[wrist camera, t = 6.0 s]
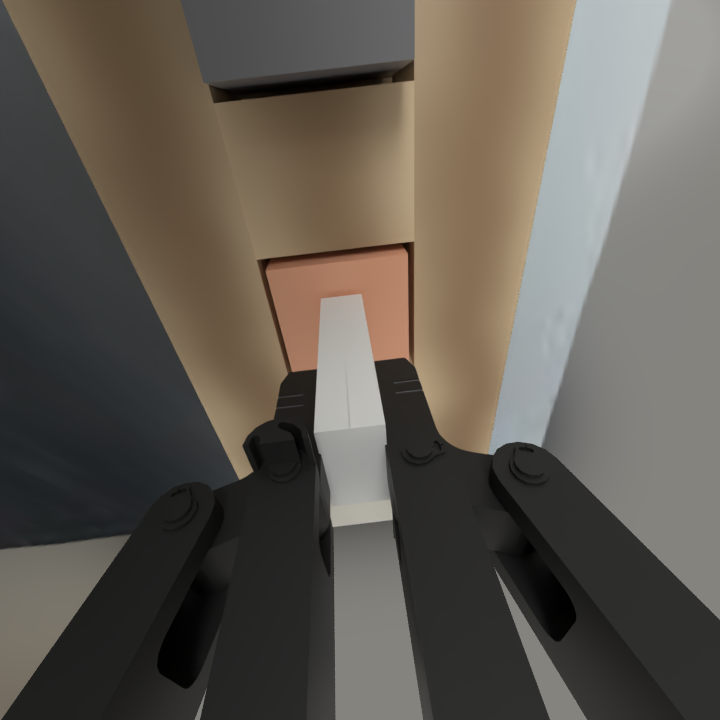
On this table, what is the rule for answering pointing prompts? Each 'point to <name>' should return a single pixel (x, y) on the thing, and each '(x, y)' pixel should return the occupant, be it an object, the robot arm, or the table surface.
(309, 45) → the charcoal key
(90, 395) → the table surface
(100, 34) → the key console
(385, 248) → the salmon orange block
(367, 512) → the cream key
